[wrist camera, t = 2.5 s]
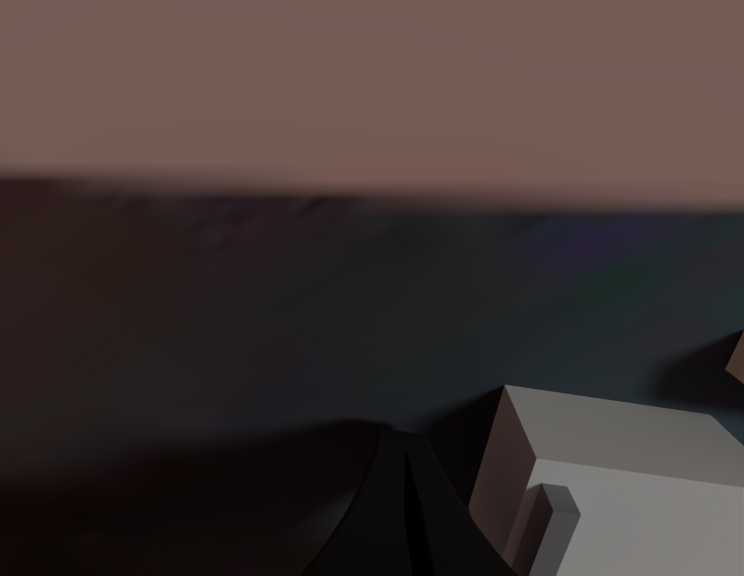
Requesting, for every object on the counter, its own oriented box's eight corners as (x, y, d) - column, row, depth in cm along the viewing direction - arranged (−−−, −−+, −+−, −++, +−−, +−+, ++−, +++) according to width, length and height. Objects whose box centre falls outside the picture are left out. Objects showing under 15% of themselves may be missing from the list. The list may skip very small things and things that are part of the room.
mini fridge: (705, 410, 14) (825, 523, 10) (649, 525, 15) (735, 660, 12) (502, 380, 14) (548, 485, 10) (467, 501, 15) (494, 630, 11)
